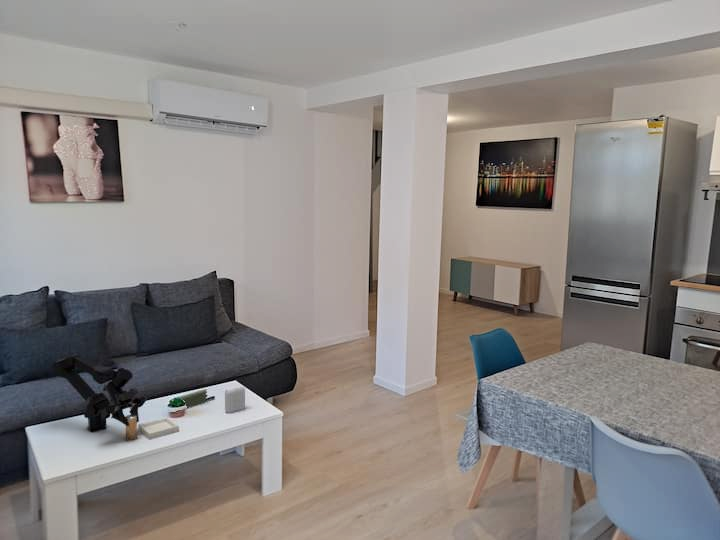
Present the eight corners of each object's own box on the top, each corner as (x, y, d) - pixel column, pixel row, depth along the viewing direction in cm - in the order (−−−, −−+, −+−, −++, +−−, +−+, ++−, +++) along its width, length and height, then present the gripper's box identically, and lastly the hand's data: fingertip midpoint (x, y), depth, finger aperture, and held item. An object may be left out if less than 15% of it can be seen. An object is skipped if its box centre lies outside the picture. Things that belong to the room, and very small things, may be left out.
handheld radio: (169, 412, 258) (212, 398, 277) (172, 414, 256) (216, 400, 275) (168, 399, 257) (212, 386, 276) (172, 401, 255) (216, 387, 274)
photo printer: (241, 406, 266) (241, 382, 265) (246, 408, 263) (246, 384, 262) (223, 411, 259) (223, 387, 258) (228, 414, 256) (227, 389, 255)
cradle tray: (149, 439, 227) (149, 433, 226) (138, 429, 236) (138, 424, 236) (178, 431, 235) (178, 425, 235) (167, 422, 245) (166, 417, 245)
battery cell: (128, 441, 224) (127, 419, 223) (124, 438, 227) (123, 416, 226) (138, 439, 227) (138, 416, 226) (135, 435, 230) (134, 413, 229)
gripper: (103, 389, 219) (120, 420, 214) (143, 377, 234) (160, 406, 230) (93, 403, 224) (109, 434, 219) (133, 391, 239) (149, 420, 235)
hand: (133, 423), depth 225 cm, fingers closed on battery cell, 4 cm apart
